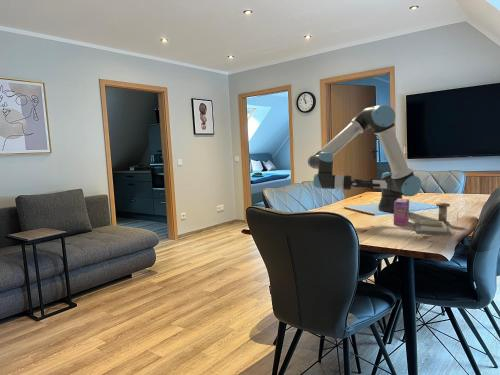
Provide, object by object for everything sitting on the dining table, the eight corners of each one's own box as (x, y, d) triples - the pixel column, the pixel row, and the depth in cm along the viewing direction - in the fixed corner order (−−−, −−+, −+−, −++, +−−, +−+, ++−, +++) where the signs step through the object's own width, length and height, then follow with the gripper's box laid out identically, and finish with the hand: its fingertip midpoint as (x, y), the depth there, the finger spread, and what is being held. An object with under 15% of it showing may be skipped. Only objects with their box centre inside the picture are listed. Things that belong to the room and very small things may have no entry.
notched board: (416, 233, 166) (416, 227, 166) (414, 225, 182) (414, 219, 181) (451, 235, 161) (451, 229, 161) (446, 226, 177) (446, 221, 176)
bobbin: (436, 224, 181) (436, 204, 180) (435, 222, 187) (435, 202, 186) (449, 225, 179) (450, 205, 178) (448, 222, 185) (449, 203, 183)
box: (405, 225, 181) (406, 202, 180) (393, 224, 184) (393, 201, 183) (408, 221, 190) (409, 199, 189) (397, 220, 193) (397, 198, 192)
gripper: (344, 187, 206) (384, 189, 200) (341, 192, 182) (387, 194, 176) (344, 173, 205) (385, 175, 199) (342, 177, 181) (388, 179, 175)
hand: (386, 184), depth 188 cm, fingers open, 13 cm apart
